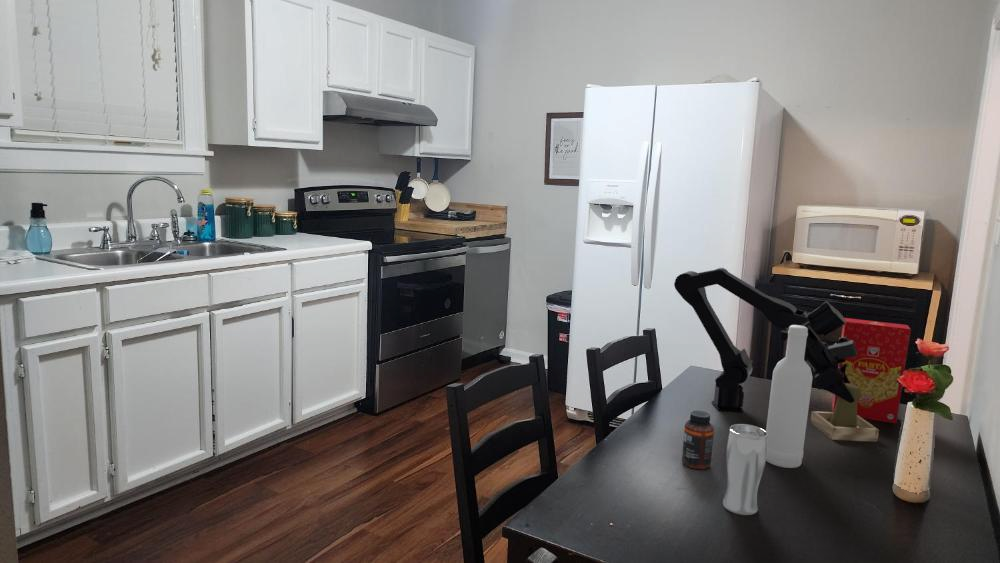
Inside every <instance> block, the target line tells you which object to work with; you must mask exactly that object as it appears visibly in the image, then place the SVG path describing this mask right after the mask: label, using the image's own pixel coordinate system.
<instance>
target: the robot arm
mask: <svg viewBox="0 0 1000 563" xmlns="http://www.w3.org/2000/svg"><path fill="white" fill-rule="evenodd" d="M673 285H674V288H675V290H676V292H677V293H678V294H679V296H681V298H682V299H683V300H684V301H685V302H686V303H688V304H689V305H690V307H691V308H693V310H694V312H695V314H696V317H697V318H698V320H699V321H700V322H701V325H702V326H703V328H704V330H705V332H706V333H707V335H708V337H709V338H710V340H711V342H712V343H713V345H714V347H715V349H716V350H717V352H718V355H719V358H720V359H719V360H720V364H721V367H722V372H721V373H720V374H719V375H718V376H717V377H716V378H715V380H714V382H715V388H714V396H713V397H714V398H713V400H711V404H712V405H713V406H714V407H715V408H716V409H717V411H722V412H723V411H724V412H725V411H726V412H728V411H729V412H741V413H742V412H743V411H744V409H743V408H744V407H743V406H744V397H745V392H744V386H742V385H741V384H743V383H745V382H746V381H747V380H748V378H750V375H752V372H753V365H752V363H753V360H752V359H751V358H750V357H749V355H748V353H747V350H746V349H745V348H743V349H741V350H740V349H739V348H738V347H736V345H734V342H733V341H732V339H731V338H730V336H729V334H728V332H727V330H726V329H725V328H724V326H723V324H722V322H721V320H720V318H719V317H718V315H717V314H716V312H715V310H714V308H713V306H712V305H711V303H710V302H709V300H708V296H707V291H706V287H710V286H714V285H718V286H720V287H721V288H723V289H725V290H726V291H727V292H729V293H731V294H733V296H736V297H737V298H739V299H741V300H742V301H744V302H746V303H747V304H749V305H751V306H753V307H754V308H755V309H757V311H759V313H761V315H762V316H763V317H764V318H765V319H766V320H767V321H768V322H770V323H771V324H772V325H773V326H775V327H776V328H778V329H780V333H779V334H780V339H779V343H780V344H782V343H784V342H786V341H788V330H782V329H789V326H791V325H800V326H805V327H807V329H808V336H807V340H806V348H805V355H804V361H805V362H806V363H807V364H808V365H809V367H810V368H811V369H813V372H812V373H813V374H814V375H815V376H814V378H813V385H814V387H816V388H817V390H821V389H822V390H825V391H827V392H829V393H831V394H835V395H837V396H839V397H840V398H842V399H844V400H846V401H848V402H850V403H852V402H854V401H855V400H854V398H853V396H852V395H851V393H850V391H849V390H848V388H847V386H846V385H845V383H849V384H851V383H850V381H849V379H848V377H847V375H846V373H845V371H846V365H847V364H846V363H845V364H844V365H842V366H840V364H839V363H841V362H843V363H844V362H845V361H846V358H847V357H855V356H857V353H858V352H857V349H856V346H855V343H854V341H853V340H850V341H849V340H848V339H847V338H846V337H839V338H838V343H834V344H832V345H829V344H828V342H825V341H822V340H821V339H820V337H818V336H822V335H823V336H824V337H827V336H829V335H831V334H833V333H834V332H835V331H836V330H838V329H839V328H842V327H843V325H844V324H846V321H845V319H844V318H845V317H844V316H843V315H842V314H841V312H840V311H839V310H838V309H836V308H835V307H834V306H833V305H831V304H830V302H828V301H827V300H826V301H824V302H823V303H822V304H821V305H820V306H819V307H817V308H816V309H814V310H813V311H811V312H810V311H809V312H808V311H805V310H801V309H798V308H796V306H795V305H793V304H792V303H790V302H787V301H785V300H783V299H780V298H777V297H773V296H769V295H768V294H766V293H764V292H762V291H760V290H759V289H757V288H755V287H754V286H752V285H751V284H749V283H747V282H746V281H744V280H742V279H741V278H739V277H738V276H736V275H735V274H732V273H731V272H729V271H728V269H726V268H724V267H718V268H716V269H713V270H711V269H710V270H707V271H702V272H696V271H694V270H691V271H690V270H688V271H686V272H683V273H681V274H678V275H677V276H676V278H675V280H674V283H673ZM817 335H818V336H817Z"/></svg>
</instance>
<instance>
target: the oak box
mask: <svg viewBox="0 0 1000 563" xmlns="http://www.w3.org/2000/svg"><path fill="white" fill-rule="evenodd" d="M832 415H833V411H816V410H815V411H811V415H810V423H811V425H813V426H814V427H815V428H817V430H819V431H820V432H821V433H823V435H825V436H826V437H827V438H829V439H830V440H831V441H832V440H833V441H852V442H871V443H872V442H873V443H875V442H877V443H878V439H879V432H880V429H878V428H877V427H876V426H874V425H873V424H871V423H870V422H869V421H867V419H866V420H865V418H861V417H860V416H858V415H857V428H855V427H835V426H833V425H832V424H831V423H830V421H831V418H832Z"/></svg>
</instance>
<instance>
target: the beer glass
mask: <svg viewBox="0 0 1000 563" xmlns="http://www.w3.org/2000/svg"><path fill="white" fill-rule="evenodd" d="M767 437H768V433H767V432H766V429H763V428H761V427H758V426H756V425H752V424H747V423H735V424H732V425H731V426H730V427H729V431H728V437H727V440H726V441H727V442H726V448H725V449H726V450H725V468H726V469H725V470H726V481H727V482H726V490H725V493H724V497H723V500H722V505H723V507H724V508H725V509H726V511H727V510H728V511H729V512H731V513H734V514H736V515H741V516H752V515H753V516H754V515H755V514H757V512H758V489H759V485H760V482H761V479H762V477H763V473H764V470H765V466H766V462H767V461H766V456H767Z"/></svg>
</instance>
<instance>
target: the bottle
mask: <svg viewBox="0 0 1000 563" xmlns="http://www.w3.org/2000/svg"><path fill="white" fill-rule="evenodd" d="M787 331H788V339H787V340H786V341H787V343H786V349H785V350H786V351H785V357H783V358H782V359H781V360H779V361H778V362H777V363H776V365H775V367H774V368H773V370H772V379H771V386H770V395H769V402H768V403H769V404H768V412H767V419H766V428H765V431H766V432H767V433H768V437H767V456H766V462H767V463H769V464H771V465H773V466H776V467H779V468H786V469H787V468H788V469H794V468H795V469H797V468H799V467H801V465H802V462H803V458H804V447H805V439H806V431H807V423H808V415H809V409H810V400H811V393H812V385H813V380H814V378H813V374H812V373H813V372H812V367H811V366H810V365H809V363H808V362H807V361H804V355H805V348H806V340H807V336H808V329H807V327H805V326H802V325H791V326H789V327H788V330H787Z"/></svg>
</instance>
